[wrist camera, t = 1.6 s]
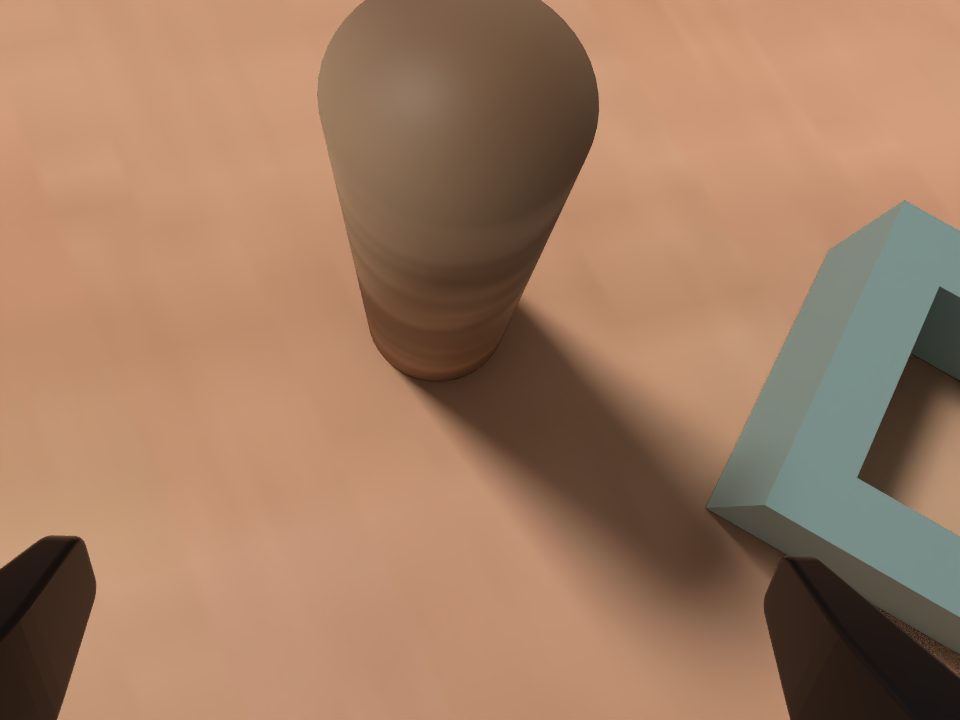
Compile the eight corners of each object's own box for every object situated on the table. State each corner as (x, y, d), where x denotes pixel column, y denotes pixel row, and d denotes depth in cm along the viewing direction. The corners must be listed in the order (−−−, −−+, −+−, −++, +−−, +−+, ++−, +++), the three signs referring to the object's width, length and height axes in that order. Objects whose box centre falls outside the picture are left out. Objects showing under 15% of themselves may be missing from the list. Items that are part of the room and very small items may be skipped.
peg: (441, 410, 23) (471, 284, 11) (338, 316, 23) (256, 95, 11) (533, 310, 24) (654, 94, 12) (432, 222, 24) (450, -76, 12)
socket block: (990, 672, 23) (1109, 703, 19) (705, 508, 23) (764, 504, 19) (1090, 395, 25) (1214, 372, 21) (829, 249, 25) (904, 200, 22)
